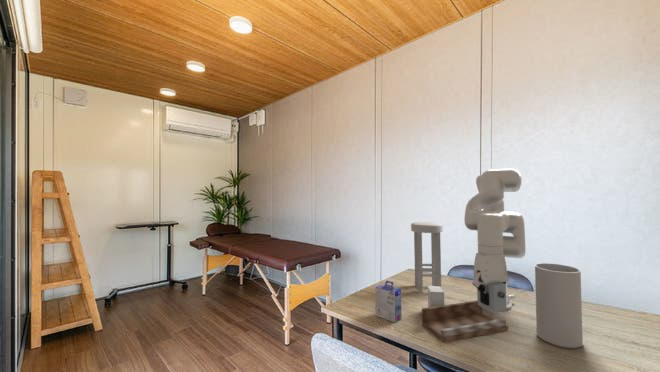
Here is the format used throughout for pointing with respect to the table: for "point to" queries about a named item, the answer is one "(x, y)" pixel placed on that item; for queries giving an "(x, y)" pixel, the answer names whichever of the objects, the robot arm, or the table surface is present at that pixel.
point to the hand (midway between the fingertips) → (491, 302)
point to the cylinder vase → (559, 304)
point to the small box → (435, 296)
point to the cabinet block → (495, 298)
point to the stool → (435, 249)
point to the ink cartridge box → (388, 302)
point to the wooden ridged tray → (460, 321)
